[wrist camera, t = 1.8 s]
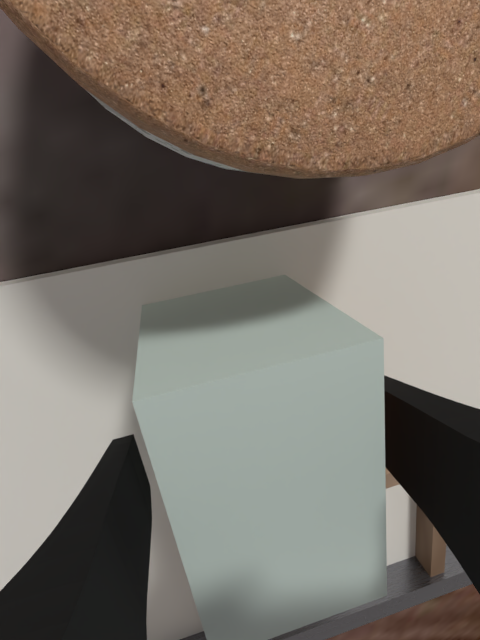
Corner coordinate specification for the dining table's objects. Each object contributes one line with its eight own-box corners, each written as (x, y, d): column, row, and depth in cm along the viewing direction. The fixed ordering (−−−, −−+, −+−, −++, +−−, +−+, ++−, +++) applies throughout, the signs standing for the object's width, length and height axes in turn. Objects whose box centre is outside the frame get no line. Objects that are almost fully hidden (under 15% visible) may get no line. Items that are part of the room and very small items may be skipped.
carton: (191, 487, 15) (213, 659, 9) (141, 305, 12) (132, 401, 7) (311, 451, 16) (396, 591, 10) (292, 272, 13) (397, 334, 7)
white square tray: (65, 682, 18) (53, 746, 16) (-153, 311, 11) (-226, 340, 9) (480, 534, 22) (515, 570, 20) (522, 180, 15) (585, 179, 12)
